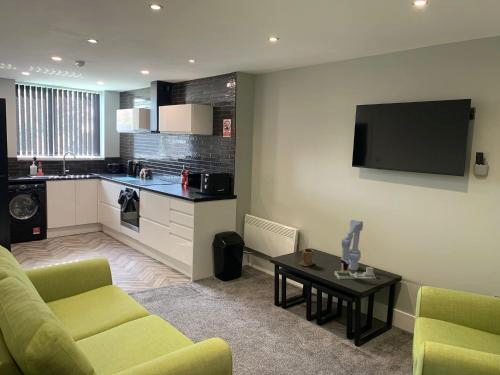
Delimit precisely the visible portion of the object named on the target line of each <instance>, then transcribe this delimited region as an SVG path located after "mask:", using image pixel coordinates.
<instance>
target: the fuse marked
mask: <svg viewBox="0 0 500 375" xmlns="http://www.w3.org/2000/svg"><path fill="white" fill-rule="evenodd" d="M348 267H349V265H348ZM340 271H342V272H348V271H349V268H347V270H344V265H343V263H342V262H341V270H340Z"/></svg>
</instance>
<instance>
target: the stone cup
mask: <svg viewBox="0 0 500 375" xmlns="http://www.w3.org/2000/svg"><path fill="white" fill-rule="evenodd" d="M301 254H302V256H301V257H302V261H299V263H298V264H299V265H300V266H302V267H303V266H304V267H309V266H311V265H314V264H316V261H315V260H314V259H313V258H314V255H315V251H314V249H313V248H304V249H303V251H302V253H301Z"/></svg>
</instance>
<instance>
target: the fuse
mask: <svg viewBox="0 0 500 375" xmlns="http://www.w3.org/2000/svg"><path fill="white" fill-rule="evenodd" d="M365 273H366V274H367V277H368V276H373V273H374V267H371V266H369V267H367V266H366V267H365Z"/></svg>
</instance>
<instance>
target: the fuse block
mask: <svg viewBox="0 0 500 375" xmlns="http://www.w3.org/2000/svg"><path fill="white" fill-rule="evenodd" d="M352 274H353V275H354V277H355V279H377V277H376V276H375V273H374V272H373V276H368V277H367V274H366V271H363V272H362V273H358V272H356V271H355V272H354V273H352Z"/></svg>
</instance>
